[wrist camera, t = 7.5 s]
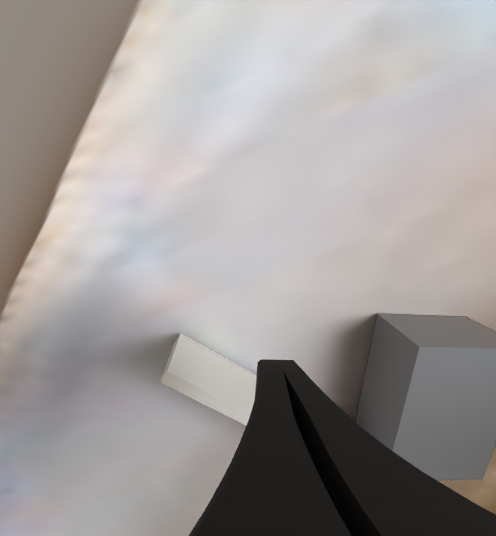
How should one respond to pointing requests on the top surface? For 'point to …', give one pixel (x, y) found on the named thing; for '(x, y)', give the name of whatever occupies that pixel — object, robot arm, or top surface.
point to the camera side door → (210, 379)
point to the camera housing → (432, 393)
